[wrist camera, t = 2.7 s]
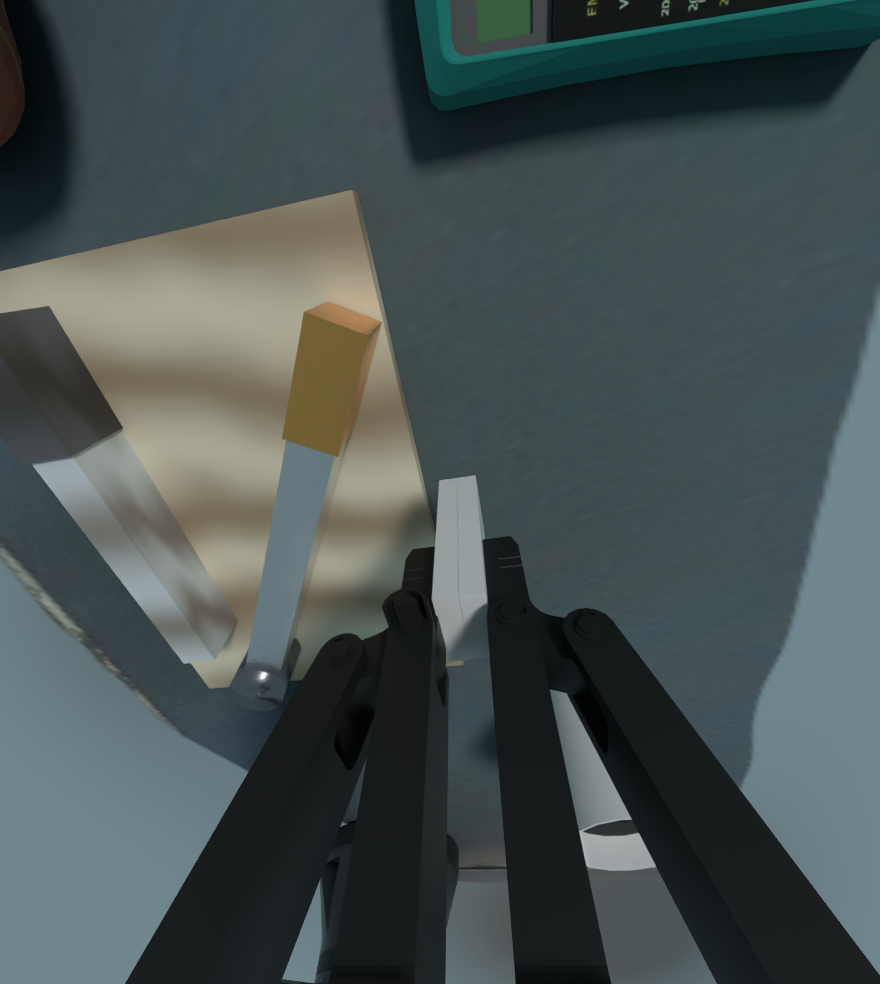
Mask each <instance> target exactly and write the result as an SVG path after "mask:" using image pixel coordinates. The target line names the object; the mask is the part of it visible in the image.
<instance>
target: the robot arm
mask: <svg viewBox="0 0 880 984" xmlns="http://www.w3.org/2000/svg"><path fill="white" fill-rule="evenodd" d="M382 609H383V612H384V615H385V618H386V621H387V623H388V626H389V627H388V628H387V629H385V630H384V631H382V632H380V633H378V634H376V635H374V636H371V637H369V638H366V639H363V640H361V639H360V638H359V637H358V636H357V635H355V634H352V633H345V634H340V635H337V636H335V637H333V638H331V639H330V640H329V641H327V642H326V643H325V644H324V645H323V647H322V648H321V649H320V651H319V652H318V654H317V656H316V657H315V659H314V661H313V663H312V664H311V666H310V668H309V669H308V671H307V673H306V675H305V676H304V678H303V680H302V681H301V683H300V685H299V687H298V688H297V690H296V692H295V693H294V695H293V697H292V699H291V700H290V702H289V704H288V705H287V707H286V709H285V711H284V712H283V714H282V716H281V717H280V719H279V721H278V723H277V724H276V726H275V728H274V729H273V731H272V733H271V735H270V736H269V738H268V740H267V741H266V743H265V745H264V747H263V748H262V750H261V752H260V753H259V755H258V757H257V759H256V760H255V762H254V764H253V765H252V767H251V769H250V771H249V772H248V774H247V776H246V778H245V779H244V781H243V783H242V784H241V786H240V788H239V789H238V791H237V793H236V795H235V796H234V798H233V800H232V801H231V803H230V805H229V807H228V808H227V810H226V812H225V814H224V815H223V817H222V819H221V820H220V822H219V824H218V825H217V827H216V829H215V831H214V832H213V834H212V836H211V838H210V839H209V841H208V843H207V845H206V846H205V848H204V850H203V851H202V853H201V855H200V856H199V858H198V860H197V861H196V863H195V865H194V867H193V868H192V870H191V872H190V873H189V875H188V877H187V879H186V880H185V882H184V884H183V886H182V887H181V889H180V891H179V892H178V894H177V896H176V897H175V899H174V901H173V903H172V904H171V906H170V908H169V910H168V911H167V913H166V915H165V916H164V918H163V920H162V921H161V923H160V925H159V927H158V928H157V930H156V932H155V933H154V935H153V937H152V939H151V940H150V942H149V944H148V945H147V947H146V949H145V951H144V952H143V954H142V956H141V957H140V959H139V961H138V963H137V964H136V966H135V968H134V969H133V971H132V973H131V975H130V977H129V978H128V980H127V981H126V983H125V984H445V969H446V928H447V924H448V919H449V915H450V911H451V907H452V902H453V898H454V894H455V889H456V885H457V881H458V874H459V851H458V847H457V845H456V843H455V842H454V841H453V840H452V839H451V838H450V837H449V836H447V785H448V693H449V678H448V673H447V669H446V655H447V658H448V662H450V661H461V660H472V659H484V658H490V667H491V679H492V691H493V704H494V716H495V729H496V741H497V754H498V766H499V779H500V791H501V803H502V816H503V828H504V841H505V853H506V866H507V878H508V891H509V903H510V915H511V928H512V940H513V953H514V965H515V980H516V984H611V981H610V977H609V972H608V968H607V964H606V958H605V953H604V949H603V944H602V939H601V934H600V930H599V925H598V919H597V915H596V910H595V905H594V900H593V895H592V891H591V886H590V881H589V876H588V871H587V867H586V862H585V857H584V852H583V847H582V842H581V838H580V833H579V828H578V823H577V818H576V814H575V809H574V804H573V799H572V794H571V789H570V785H569V780H568V775H567V770H566V765H565V761H564V756H563V751H562V746H561V741H560V737H559V732H558V727H557V722H556V717H555V712H554V708H553V703H552V698H551V693H550V690H555V691H559V692H563V693H567V696H568V697H569V699H570V701H571V703H572V705H573V707H574V709H575V711H576V713H577V715H578V717H579V719H580V721H581V723H582V724H583V726H584V728H585V730H586V732H587V734H588V736H589V738H590V740H591V742H592V744H593V746H594V748H595V749H596V751H597V753H598V755H599V757H600V759H601V761H602V763H603V765H604V767H605V769H606V771H607V773H608V775H609V776H610V778H611V780H612V782H613V784H614V786H615V788H616V790H617V792H618V794H619V796H620V798H621V800H622V802H623V803H624V805H625V807H626V809H627V811H628V813H629V815H630V817H631V819H632V821H633V823H634V825H635V827H636V828H637V830H638V832H639V834H640V836H641V838H642V840H643V842H644V844H645V846H646V848H647V850H648V852H649V854H650V855H651V857H652V859H653V861H654V863H655V865H656V867H657V869H658V871H659V873H660V875H661V877H662V879H663V881H664V882H665V884H666V886H667V888H668V890H669V892H670V894H671V896H672V898H673V900H674V901H675V904H676V905H677V907H678V909H679V911H680V913H681V915H682V917H683V919H684V921H685V923H686V925H687V927H688V929H689V931H690V932H691V934H692V936H693V938H694V940H695V942H696V944H697V946H698V948H699V950H700V952H701V954H702V956H703V958H704V960H705V961H706V963H707V965H708V967H709V969H710V971H711V973H712V975H713V977H714V979H715V981H716V983H717V984H880V975H879V974H878V972H877V971H876V970H875V968H874V967H873V966H872V964H871V963H870V962H869V961H868V959H867V958H866V957H865V955H864V954H863V953H862V951H861V950H860V949H859V947H858V946H857V945H856V943H855V942H854V941H853V939H852V938H851V937H850V935H849V934H848V933H847V931H846V930H845V929H844V928H843V926H842V925H841V923H840V922H839V921H838V919H837V918H836V917H835V915H834V914H833V913H832V911H831V910H830V909H829V907H828V906H827V905H826V903H825V902H824V901H823V900H822V898H821V897H820V895H819V894H818V893H817V891H816V890H815V889H814V888H813V886H812V885H811V884H810V882H809V881H808V880H807V878H806V877H805V876H804V874H803V873H802V872H801V870H800V869H799V868H798V866H797V865H796V864H795V862H794V861H793V860H792V858H791V857H790V856H789V854H788V853H787V852H786V850H785V849H784V848H783V846H782V845H781V844H780V842H779V841H778V840H777V838H776V837H775V836H774V834H773V833H772V832H771V831H770V829H769V828H768V826H767V825H766V824H765V822H764V821H763V820H762V818H761V817H760V816H759V814H758V813H757V812H756V810H755V809H754V808H753V806H752V805H751V804H750V802H749V801H748V800H747V799H746V797H745V796H744V795H743V793H742V792H741V791H740V789H739V788H738V787H737V785H736V784H735V783H734V781H733V780H732V779H731V777H730V776H729V775H728V773H727V772H726V771H725V769H724V768H723V767H722V765H721V764H720V763H719V761H718V760H717V759H716V757H715V756H714V755H713V753H712V752H711V751H710V749H709V748H708V747H707V745H706V744H705V743H704V741H703V740H702V739H701V737H700V736H699V735H698V733H697V732H696V731H695V729H694V728H693V727H692V725H691V724H690V723H689V722H688V720H687V719H686V718H685V716H684V715H683V714H682V712H681V711H680V710H679V708H678V707H677V706H676V704H675V703H674V702H673V700H672V699H671V698H670V696H669V695H668V694H667V692H666V691H665V690H664V688H663V687H662V686H661V684H660V683H659V682H658V680H657V679H656V678H655V676H654V675H653V674H652V672H651V671H650V670H649V668H648V667H647V666H646V664H645V663H644V662H643V660H642V659H641V658H640V656H639V655H638V654H637V652H636V651H635V650H634V648H633V647H632V646H631V645H630V643H629V642H628V641H627V639H626V638H625V637H624V635H623V634H622V633H621V631H620V630H619V629H618V627H617V626H616V625H615V623H614V622H613V621H612V620H611V619H610V618H609V617H608V616H607V615H606V614H604V613H602V612H600V611H598V610H595V609H588V608H583V609H576V610H574V611H572V612H570V613H569V614H568V615H567V616H566V617H565V618H562V617H556V616H551V615H548V614H545V613H543V612H541V611H539V610H538V609H537V608H535V607H534V605H533V604H532V603H531V601H530V598H529V595H528V590H527V585H526V580H525V575H524V570H523V566H522V561H521V556H520V551H519V546H518V544H517V543H516V542H515V541H514V540H513V539H512V537H511V536H507V537H499V538H491V539H485V536H484V527H483V521H482V514H481V508H480V501H479V495H478V488H477V482H476V476H468V477H461V478H454V479H447V480H440V481H439V494H438V509H437V525H436V541H435V546H434V547H426V548H417V549H412V551H411V552H410V554H409V555H408V557H407V558H406V560H405V567H404V574H403V581H402V587H401V589H399V590H397V591H395V592H393V593H392V594H390V595H389V596H388V597H387V598H386V599H385V601H384V603H383V605H382ZM366 758H367V761H366V767H365V773H364V779H363V784H362V790H361V796H360V802H359V808H358V814H357V820H356V822H355V823H351V824H347V825H344V826H342V827H340V826H341V823H342V820H343V818H344V815H345V813H346V810H347V807H348V805H349V802H350V799H351V797H352V794H353V792H354V789H355V786H356V784H357V781H358V779H359V776H360V773H361V771H362V768H363V765H364V763H365V760H366ZM319 880H320V893H321V924H322V943H321V950H320V956H319V962H318V967H317V973H316V978H315V982H314V983H306V982H299V981H291V980H283V979H282V977H283V975H284V972H285V970H286V967H287V964H288V961H289V959H290V956H291V954H292V951H293V949H294V946H295V943H296V941H297V938H298V936H299V933H300V930H301V928H302V925H303V922H304V920H305V917H306V914H307V912H308V909H309V906H310V904H311V902H312V899H313V896H314V894H315V891H316V888H317V886H318V883H319Z"/></svg>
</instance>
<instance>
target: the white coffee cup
mask: <svg viewBox="0 0 880 984" xmlns="http://www.w3.org/2000/svg"><path fill="white" fill-rule="evenodd" d="M550 693H551V698H552V703H553V708H554V712H555V717H556V722H557V727H558V732H559V737H560V741H561V746H562V751H563V756H564V761H565V765H566V770H567V775H568V780H569V785H570V789H571V794H572V799H573V804H574V809H575V814H576V818H577V823H578V828H579V833H580V838H581V842H582V847H583V852H584V857H585V862H586V866H587V867H590V868H597V869H603V870H610V871H613V870H638V869H644V868H650V867H656V865H655V863H654V861H653V859H652V857H651V855H650V854H649V852H648V850H647V848H646V846H645V844H644V842H643V840H642V838H641V836H640V834H639V832H638V830H637V828H636V827H635V825H634V823H633V821H632V819H631V817H630V815H629V813H628V811H627V809H626V807H625V805H624V803H623V802H622V800H621V798H620V796H619V794H618V792H617V790H616V788H615V786H614V784H613V782H612V780H611V778H610V776H609V775H608V773H607V771H606V769H605V767H604V765H603V763H602V761H601V759H600V757H599V755H598V753H597V751H596V749H595V748H594V746H593V744H592V742H591V740H590V738H589V736H588V734H587V732H586V730H585V728H584V726H583V724H582V723H581V721H580V719H579V717H578V715H577V713H576V711H575V709H574V707H573V705H572V703H571V701H570V699H569V697H568V696H567V693H563V692H559V691H555V690H550Z"/></svg>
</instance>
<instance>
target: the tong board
mask: <svg viewBox="0 0 880 984" xmlns="http://www.w3.org/2000/svg"><path fill="white" fill-rule="evenodd" d="M327 301H328V302H331V303H333V304H336V305H339V306H341V307H344V308H347V309H349V310H352V311H354V312H357V313H360V314H362V315H365V316H368V317H370V318H373V319H376V320H378V321H381V322H382V324H381V328H380V332H379V335H378V339H377V343H376V347H375V350H374V354H373V358H372V362H371V365H370V369H369V373H368V376H367V380H366V384H365V388H364V391H363V395H362V399H361V403H360V406H359V410H358V414H357V418H356V421H355V425H354V429H353V430H352V432H351V434H350V436H349V438H348V440H347V443H346V446H345V450H344V454H343V458H342V462H341V465H340V469H339V473H338V477H337V481H336V484H335V488H334V492H333V496H332V500H331V503H330V507H329V511H328V515H327V519H326V522H325V526H324V530H323V534H322V538H321V541H320V545H319V549H318V553H317V557H316V560H315V564H314V568H313V572H312V576H311V579H310V583H309V587H308V591H307V595H306V598H305V602H304V606H303V610H302V614H301V617H300V621H299V625H298V629H297V633H296V636H295V638H296V639H297V640H298V641H299V643H300V645H301V653H300V655H299V658H298V661H297V663H296V666H295V669H294V671H293V674H292V677H291V679H290V681H295V680H303V678H304V676H305V675H306V673H307V671H308V669H309V668H310V666H311V664H312V663H313V661H314V659H315V657H316V656H317V654H318V652H319V651H320V649H321V648H322V647H323V645H324V644H325V643H326V642H327V641H329V640H330V639H331V638H333V637H335V636H337V635H340V634H345V633H352V634H355V635H357V636H358V637H359V638H360V639H361V640H363V639H366V638H369V637H371V636H374V635H376V634H378V633H380V632H382V631H384V630H385V629H387V628H388V627H389V626H388V623H387V621H386V618H385V615H384V612H383V609H382V605H383V603H384V601H385V599H386V598H387V597H388V596H389V595H390V594H392V593H393V592H395V591H397V590H399V589H401V587H402V581H403V574H404V567H405V560H406V558H407V557H408V555H409V554H410V552H411V551H412V549H417V548H426V547H434V546H435V541H436V533H435V528H434V524H433V519H432V515H431V511H430V506H429V502H428V498H427V493H426V489H425V485H424V480H423V476H422V472H421V467H420V463H419V458H418V454H417V450H416V445H415V441H414V437H413V432H412V428H411V424H410V419H409V415H408V411H407V406H406V402H405V397H404V393H403V389H402V384H401V380H400V376H399V371H398V367H397V363H396V358H395V354H394V350H393V345H392V341H391V337H390V332H389V328H388V323H387V319H386V315H385V310H384V306H383V302H382V297H381V293H380V289H379V284H378V280H377V276H376V271H375V267H374V262H373V258H372V254H371V249H370V245H369V241H368V236H367V232H366V228H365V223H364V219H363V215H362V210H361V206H360V201H359V197H358V193H357V192H355V191H353V190H349V191H345V192H341V193H337V194H332V195H328V196H324V197H319V198H315V199H311V200H306V201H302V202H298V203H293V204H289V205H285V206H280V207H276V208H272V209H267V210H263V211H259V212H255V213H250V214H246V215H242V216H237V217H233V218H229V219H224V220H220V221H216V222H211V223H207V224H203V225H198V226H194V227H190V228H185V229H181V230H177V231H173V232H168V233H164V234H160V235H155V236H151V237H147V238H142V239H138V240H134V241H129V242H125V243H121V244H116V245H112V246H108V247H103V248H99V249H95V250H91V251H86V252H82V253H78V254H73V255H69V256H65V257H60V258H56V259H52V260H47V261H43V262H39V263H34V264H30V265H26V266H21V267H17V268H13V269H8V270H4V271H0V436H1V437H2V438H3V440H4V441H5V442H6V443H7V445H8V446H9V447H10V449H11V450H12V451H13V453H14V454H15V455H16V456H17V458H18V459H19V460H20V462H21V463H22V464H29V463H31V464H32V465H33V466H34V468H35V469H36V470H37V472H38V473H39V474H40V476H41V477H42V478H43V480H44V481H45V482H46V483H47V485H48V486H49V487H50V489H51V490H52V491H53V493H54V494H55V495H56V497H57V498H58V499H59V501H60V502H61V503H62V504H63V506H64V507H65V508H66V510H67V511H68V512H69V514H70V515H71V516H72V518H73V519H74V520H75V521H76V523H77V524H78V525H79V527H80V528H81V529H82V531H83V532H84V533H85V535H86V536H87V537H88V539H89V540H90V541H91V542H92V544H93V545H94V546H95V548H96V549H97V550H98V552H99V553H100V554H101V556H102V557H103V558H104V560H105V561H106V562H107V563H108V565H109V566H110V567H111V569H112V570H113V571H114V573H115V574H116V575H117V577H118V578H119V579H120V580H121V582H122V583H123V584H124V586H125V587H126V588H127V590H128V591H129V592H130V594H131V595H132V596H133V598H134V599H135V600H136V601H137V603H138V604H139V605H140V607H141V608H142V609H143V611H144V612H145V613H146V615H147V616H148V617H149V619H150V620H151V621H152V622H153V624H154V625H155V626H156V628H157V629H158V630H159V632H160V633H161V634H162V636H163V637H164V638H165V639H166V641H167V642H168V643H169V645H170V646H171V647H172V649H173V650H174V651H175V653H176V654H177V655H178V657H179V658H180V659H181V660H182V662H183V663H191V664H192V665H193V667H194V668H195V669H196V671H197V672H198V673H199V675H200V676H201V678H202V679H203V680H204V682H205V683H206V684H207V686H208V687H209V688H220V687H229V686H230V684H231V682H232V680H233V678H234V676H235V674H236V672H237V670H238V668H239V666H240V664H241V662H242V660H243V658H244V656H245V654H246V652H247V650H248V648H249V644H250V639H251V633H252V628H253V622H254V617H255V611H256V606H257V600H258V594H259V589H260V583H261V578H262V572H263V567H264V561H265V555H266V550H267V544H268V539H269V533H270V528H271V522H272V517H273V511H274V505H275V500H276V494H277V489H278V483H279V478H280V472H281V467H282V461H283V455H284V450H285V444H286V440H284V439H282V435H283V429H284V423H285V418H286V412H287V406H288V400H289V395H290V389H291V383H292V377H293V372H294V366H295V360H296V354H297V349H298V343H299V337H300V331H301V326H302V320H303V314H304V311H307V310H309V309H311V308H313V307H316V306H318V305H320V304H322V303H325V302H327ZM455 665H463V660H461V661H450V662H448V658H447V655H446V666H455Z"/></svg>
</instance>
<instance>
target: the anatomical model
mask: <svg viewBox="0 0 880 984" xmlns="http://www.w3.org/2000/svg"><path fill="white" fill-rule="evenodd" d="M24 108H25V92H24V83H23V76H22V61H21V58H20V55H19V52H18V49H17V45H16V42H15V39H14V36H13V33H12V30H11V27H10V24H9V20H8V17H7V14H6V11H5V7H4V0H0V147H1V146H2V145H3V144H4V143H5V142H6V141H7V140H8V139H9V138H10V137H11V136H12V135H13V134H14V133H15V131H16V129H17V127H18V126H19V123H20V120H21V117H22V114H23V111H24Z"/></svg>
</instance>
